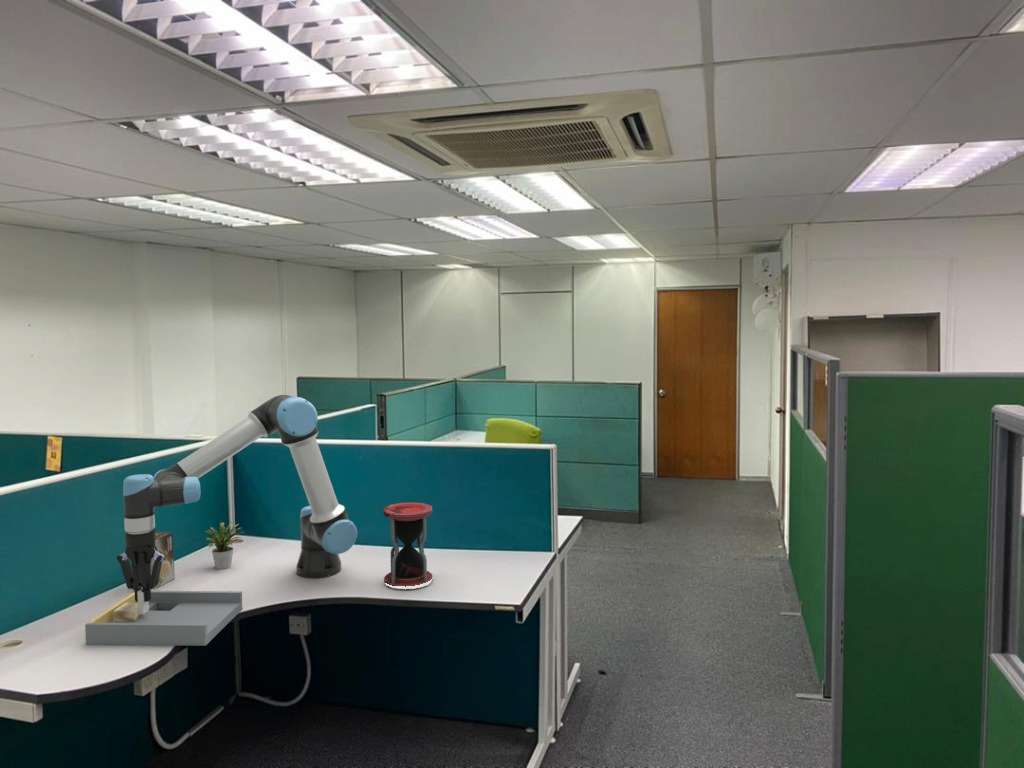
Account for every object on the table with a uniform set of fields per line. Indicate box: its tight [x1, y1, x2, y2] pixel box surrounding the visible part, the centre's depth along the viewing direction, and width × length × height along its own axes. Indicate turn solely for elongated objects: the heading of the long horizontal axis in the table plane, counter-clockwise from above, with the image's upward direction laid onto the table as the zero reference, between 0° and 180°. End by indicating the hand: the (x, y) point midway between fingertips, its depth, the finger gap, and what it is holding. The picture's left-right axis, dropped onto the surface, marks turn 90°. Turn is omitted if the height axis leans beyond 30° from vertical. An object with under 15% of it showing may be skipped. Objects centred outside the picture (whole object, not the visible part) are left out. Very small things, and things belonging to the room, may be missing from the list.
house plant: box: [205, 521, 244, 570], centre depth 241 cm, size 14×14×16 cm
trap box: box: [84, 590, 243, 647], centre depth 194 cm, size 32×24×6 cm
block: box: [113, 603, 147, 622], centre depth 194 cm, size 6×6×3 cm
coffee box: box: [151, 531, 176, 589], centre depth 227 cm, size 9×6×16 cm
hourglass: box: [382, 502, 434, 587], centre depth 228 cm, size 16×16×25 cm
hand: (143, 612), depth 194 cm, fingers closed
